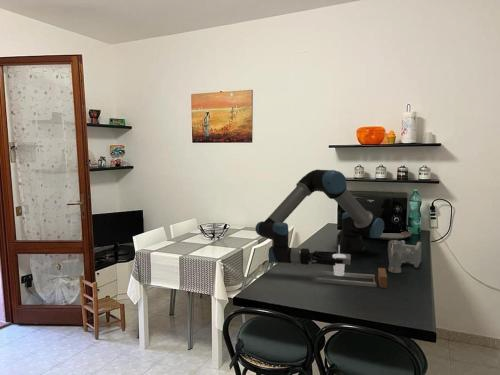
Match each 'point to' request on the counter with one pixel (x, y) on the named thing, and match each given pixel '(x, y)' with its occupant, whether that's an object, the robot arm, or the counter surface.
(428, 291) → the counter surface
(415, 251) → the cable organizer
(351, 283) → the channel
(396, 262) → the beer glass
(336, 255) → the beverage cup
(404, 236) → the dinner plate
